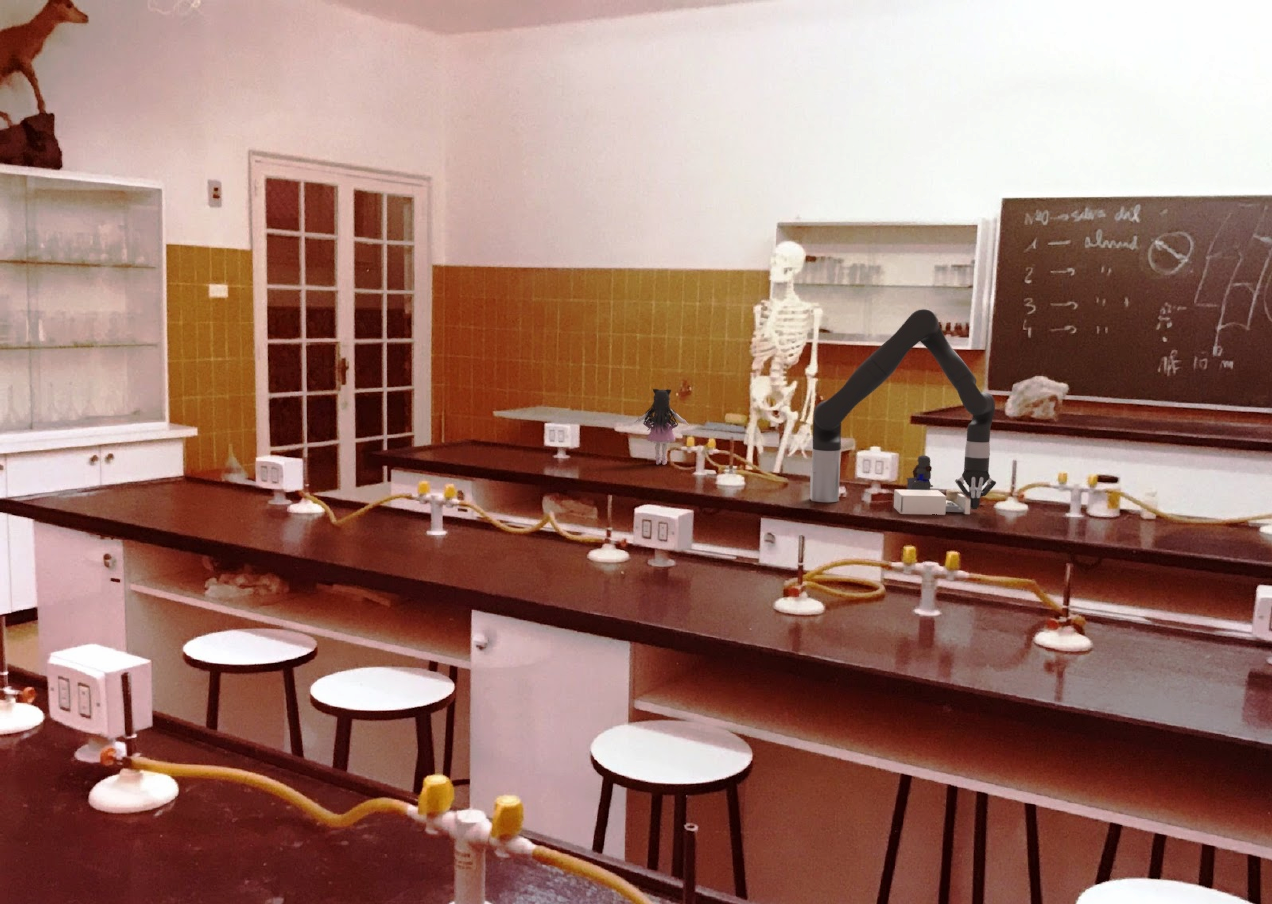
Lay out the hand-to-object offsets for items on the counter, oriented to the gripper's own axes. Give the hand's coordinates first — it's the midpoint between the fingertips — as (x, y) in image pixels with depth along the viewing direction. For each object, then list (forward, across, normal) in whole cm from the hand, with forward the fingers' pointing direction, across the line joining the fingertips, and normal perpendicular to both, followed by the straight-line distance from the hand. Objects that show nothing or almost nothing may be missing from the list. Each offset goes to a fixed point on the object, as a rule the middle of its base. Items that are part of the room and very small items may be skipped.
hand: (973, 508), depth 364 cm
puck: (-1, +10, 0) cm, 10 cm away
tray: (+1, +11, 0) cm, 11 cm away
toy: (+1, +13, -22) cm, 25 cm away
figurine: (+1, +100, -89) cm, 134 cm away
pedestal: (+1, +4, -9) cm, 10 cm away
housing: (+1, +17, 0) cm, 17 cm away
